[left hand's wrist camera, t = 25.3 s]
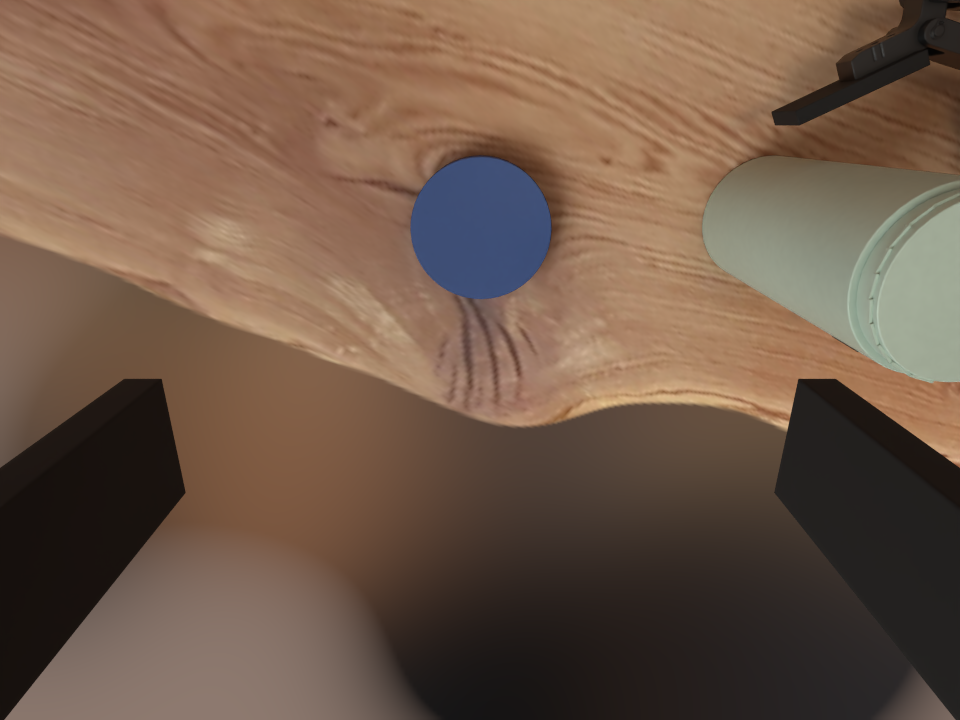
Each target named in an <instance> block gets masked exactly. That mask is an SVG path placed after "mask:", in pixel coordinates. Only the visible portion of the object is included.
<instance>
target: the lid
mask: <svg viewBox="0 0 960 720" xmlns="http://www.w3.org/2000/svg"><path fill="white" fill-rule="evenodd" d="M411 238H412V244H413V248H414V251H415V253H416V256H417V258H418V260H419V262H420V264H421V266H422V267H423V269H424V270H425V271H426V273H427V274H428V275H429V276H430V277H431V278H432V279H433V280H434V281H435V282H436V283H437V284H439V285H440V286H441V287H443V288H445V289H446V290H448V291H450V292H452V293H454V294H457V295H460V296H463V297H468V298H474V299H488V298H494V297H499V296H502V295H505V294H508V293H510V292H512V291H514V290H516V289H518V288H519V287H521V286H522V285H523V284H525V283H526V282H527V281H528V280H529V279H530V278H531V277H532V276H533V275H534V274H535V273H536V271H537V270H538V269H539V267H540V266H541V264H542V262H543V260H544V258H545V256H546V254H547V251H548V248H549V244H550V240H551V217H550V211H549V208H548V204H547V202H546V199H545V197H544V195H543V193H542V192H541V190H540V188H539V187H538V185H537V184H536V183H535V182H534V180H533V179H532V178H531V177H530V176H529V175H528V174H527V173H526V172H525V171H523V170H522V169H521V168H519V167H518V166H516V165H515V164H513V163H511V162H509V161H507V160H504V159H501V158H497V157H492V156H482V155H479V156H469V157H465V158H461V159H458V160H456V161H453V162H451V163H449V164H448V165H446V166H444V167H443V168H441V169H440V170H439V171H437V172H436V173H435V174H434V175H433V176H432V177H431V178H430V179H429V181H428V182H427V183H426V184H425V186H424V187H423V188H422V190H421V192H420V193H419V195H418V197H417V200H416V202H415V205H414V208H413V212H412V218H411Z"/></svg>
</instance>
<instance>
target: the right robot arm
mask: <svg viewBox="0 0 960 720" xmlns="http://www.w3.org/2000/svg"><path fill="white" fill-rule="evenodd" d="M899 2H900V5H901V6H902V7H903V8H904V10H903V17H902V20H901V23H900V25H899V26H898V27H896V28H893V29H891V30H890V31H889V32H888V33H887V35H886V36H884V37H882V38H880V39H878V40H876V41H874V42H872V43H869V44H867V45H865V46H863V47H861V48H859V49H857V50H855V51H853V52H851V53H848V54H846V55H844V56H843V57H842V58H841V59H840V60H839V61H838V62H837V63H836V67H837V71H838V75H839V80H838V81H836V82H834V83H832V84H830V85H827V86H825V87H823V88H821V89H819V90H817V91H815V92H813V93H810V94H808V95H806V96H804V97H802V98H800V99H798V100H796V101H793V102H791V103H789V104H787V105H785V106H783V107H781V108H779V109H776V110H774V111H772V116H773V119H774V123H775V125H801V124H803V123H805V122H808V121H810V120H812V119H814V118H816V117H818V116H821V115H823V114H825V113H827V112H829V111H831V110H833V109H836V108H838V107H840V106H842V105H844V104H846V103H849V102H851V101H853V100H855V99H857V98H859V97H862V96H864V95H866V94H868V93H870V92H872V91H874V90H877V89H879V88H881V87H883V86H885V85H887V84H890V83H892V82H894V81H896V80H898V79H900V78H902V77H905V76H907V75H909V74H911V73H913V72H915V71H918V70H920V69H922V68H924V67H926V66H928V65H930V61H933V62H936V63H940V64H943V65H946V66H949V67H952V68H955V69H958V70H960V23H959V22H956V21H953V20H950V19H947V18H945V16H946V10H950V11H960V0H899ZM929 60H930V61H929ZM832 337H833V336H832ZM834 338H835V337H834ZM835 339H837V338H835ZM837 340H838V339H837ZM839 341H840V340H839ZM840 342H842V341H840ZM842 343H843V342H842ZM844 344H845V343H844ZM845 345H847V344H845ZM847 346H848V345H847ZM849 347H850V346H849ZM850 348H852V347H850ZM852 349H853V348H852ZM854 350H855V349H854ZM855 351H857V350H855ZM857 352H858V351H857Z"/></svg>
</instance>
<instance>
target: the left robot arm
mask: <svg viewBox="0 0 960 720" xmlns="http://www.w3.org/2000/svg"><path fill="white" fill-rule="evenodd" d="M184 494H185V488H184V483H183V478H182V473H181V469H180V464H179V459H178V455H177V450H176V445H175V440H174V436H173V431H172V426H171V421H170V417H169V412H168V407H167V403H166V398H165V393H164V388H163V384H162V379H124V380H122V381H121V382H119V383H118V384H117V385H115V386H114V387H112V388H111V389H110V390H108V391H107V392H105V393H104V394H103V395H101V396H100V397H98V398H97V399H96V400H94V401H93V402H92V403H90V404H89V405H87V406H86V407H85V408H83V409H82V410H80V411H79V412H78V413H76V414H75V415H73V416H72V417H71V418H69V419H68V420H66V421H65V422H64V423H62V424H61V425H59V426H58V427H57V428H55V429H54V430H52V431H51V432H50V433H48V434H47V435H46V436H44V437H43V438H41V439H40V440H39V441H37V442H36V443H34V444H33V445H32V446H30V447H29V448H27V449H26V450H25V451H23V452H22V453H20V454H19V455H18V456H16V457H15V458H13V459H12V460H11V461H9V462H8V463H7V464H5V465H4V466H2V467H1V468H0V720H4V719H5V718H6V717H7V716H8V714H9V713H10V712H11V711H12V709H13V708H14V707H15V706H16V704H17V703H18V702H19V701H20V699H21V698H22V697H23V696H24V694H25V693H26V692H27V691H28V689H29V688H30V687H31V686H32V684H33V683H34V682H35V680H36V679H37V678H38V677H39V676H40V674H41V673H42V672H43V671H44V669H45V668H46V667H47V666H48V664H49V663H50V662H51V661H52V659H53V658H54V657H55V656H56V654H57V653H58V652H59V650H60V649H61V648H62V647H63V645H64V644H65V643H66V642H67V640H68V639H69V638H70V637H71V635H72V634H73V633H74V632H75V630H76V629H77V628H78V627H79V625H80V624H81V623H82V622H83V620H84V619H85V618H86V617H87V615H88V614H89V613H90V612H91V610H92V609H93V608H94V607H95V605H96V604H97V603H98V602H99V600H100V599H101V598H102V597H103V595H104V594H105V593H106V592H107V590H108V589H109V588H110V587H111V585H112V584H113V583H114V582H115V580H116V579H117V578H118V577H119V575H120V574H121V573H122V572H123V570H124V569H125V568H126V567H127V565H128V564H129V563H130V562H131V560H132V559H133V558H134V557H135V555H136V554H137V553H138V552H139V550H140V549H141V548H142V547H143V545H144V544H145V543H146V542H147V540H148V539H149V538H150V536H151V535H152V534H153V533H154V532H155V530H156V529H157V528H158V527H159V525H160V524H161V523H162V521H163V520H164V519H165V518H166V516H167V515H168V514H169V513H170V511H171V510H172V509H173V508H174V506H175V505H176V504H177V503H178V501H179V500H180V499H181V498H182V496H183V495H184ZM775 494H776V495H777V496H778V498H779V499H780V500H781V501H782V503H783V504H784V505H785V506H786V508H787V509H788V510H789V511H790V513H791V514H792V515H793V516H794V518H795V519H796V520H797V522H798V523H799V524H800V525H801V526H802V528H803V529H804V530H805V532H806V533H807V534H808V535H809V537H810V538H811V539H812V540H813V541H814V543H815V544H816V545H817V547H818V548H819V549H820V550H821V552H822V553H823V554H824V555H825V557H826V558H827V559H828V560H829V562H830V563H831V564H832V565H833V567H834V568H835V569H836V570H837V572H838V573H839V574H840V575H841V577H842V578H843V579H844V580H845V582H846V583H847V584H848V585H849V587H850V588H851V589H852V590H853V592H854V593H855V594H856V595H857V597H858V598H859V599H860V600H861V602H862V603H863V604H864V605H865V607H866V608H867V609H868V610H869V612H870V613H871V614H872V615H873V617H874V618H875V619H876V620H877V622H878V623H879V624H880V625H881V627H882V628H883V629H884V630H885V632H886V633H887V634H888V635H889V637H890V638H891V639H892V640H893V642H894V643H895V644H896V646H897V647H898V648H899V649H900V650H901V652H902V653H903V654H904V656H905V657H906V658H907V659H908V661H909V662H910V663H911V664H912V666H913V667H914V668H915V669H916V671H917V672H918V673H919V674H920V676H921V677H922V678H923V679H924V681H925V682H926V683H927V684H928V686H929V687H930V688H931V689H932V691H933V692H934V693H935V694H936V695H937V697H938V698H939V699H940V701H941V702H942V703H943V704H944V706H945V707H946V708H947V709H948V711H949V712H950V713H951V714H952V716H953V717H954V718H955V719H956V720H960V468H959V467H958V466H956V465H955V464H954V463H952V462H951V461H949V460H948V459H947V458H945V457H944V456H942V455H941V454H940V453H938V452H937V451H935V450H934V449H933V448H931V447H930V446H928V445H927V444H926V443H924V442H923V441H921V440H920V439H919V438H917V437H916V436H914V435H913V434H912V433H910V432H909V431H908V430H906V429H905V428H903V427H902V426H901V425H899V424H898V423H896V422H895V421H894V420H892V419H891V418H889V417H888V416H887V415H885V414H884V413H882V412H881V411H880V410H878V409H877V408H875V407H874V406H873V405H871V404H870V403H868V402H867V401H866V400H864V399H863V398H862V397H860V396H859V395H857V394H856V393H855V392H853V391H852V390H850V389H849V388H848V387H846V386H845V385H843V384H842V383H841V382H839V381H838V380H836V379H798V384H797V388H796V393H795V398H794V402H793V407H792V412H791V417H790V421H789V426H788V431H787V436H786V440H785V445H784V450H783V454H782V459H781V464H780V469H779V473H778V478H777V483H776V488H775Z"/></svg>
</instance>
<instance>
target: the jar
mask: <svg viewBox="0 0 960 720" xmlns="http://www.w3.org/2000/svg"><path fill="white" fill-rule="evenodd" d="M702 234H703V240H704V244H705V247H706V249H707V251H708V253H709V255H710V257H711V258H712V260H713V261H714V262H715V263H716V264H717V265H718V266H719V267H720V268H721V269H723V270H724V271H725V272H727V273H729V274H730V275H732V276H734V277H735V278H737V279H739V280H740V281H742V282H744V283H745V284H747V285H749V286H750V287H752V288H754V289H755V290H757V291H759V292H760V293H762V294H764V295H765V296H767V297H769V298H770V299H772V300H774V301H775V302H777V303H779V304H780V305H782V306H784V307H785V308H787V309H789V310H790V311H792V312H794V313H795V314H797V315H799V316H800V317H802V318H804V319H805V320H807V321H809V322H810V323H812V324H814V325H815V326H817V327H818V328H820V329H822V330H823V331H825V332H827V333H828V334H830V335H832V336H833V337H835V338H837V339H838V340H840V341H842V342H843V343H845V344H847V345H848V346H850V347H852V348H853V349H855V350H857V351H858V352H860V353H862V354H863V355H865V356H867V357H868V358H870V359H872V360H873V361H875V362H877V363H878V364H880V365H882V366H884V367H886V368H888V369H891V370H893V371H896V372H900V373H905V374H906V375H908V376H910V377H912V378H916V379H919V380H923V381H926V382H930V383H933V382H934V381H941V382H960V175H955V174H946V173H936V172H927V171H917V170H908V169H899V168H889V167H880V166H871V165H861V164H852V163H842V162H833V161H824V160H814V159H805V158H796V157H786V156H764V157H759V158H756V159H752V160H750V161H748V162H745V163H743V164H741V165H740V166H738V167H736V168H735V169H734V170H732V171H731V172H730V173H728V174H727V175H726V176H725V177H724V178H723V179H722V180H721V182H720V183H719V184H718V185H717V186H716V188H715V189H714V191H713V193H712V194H711V196H710V198H709V200H708V202H707V205H706V208H705V211H704V216H703V223H702Z"/></svg>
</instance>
